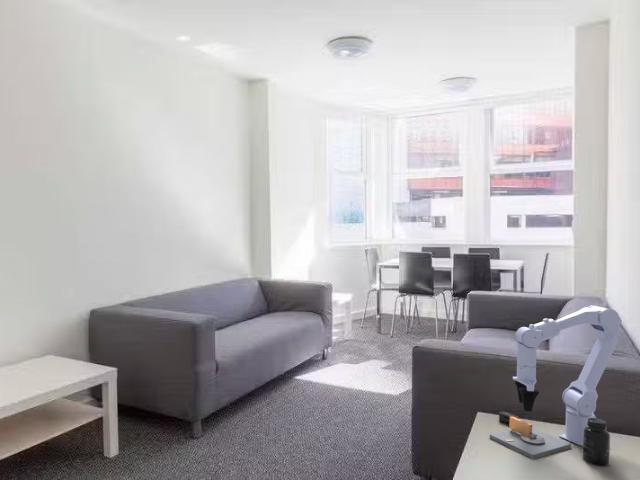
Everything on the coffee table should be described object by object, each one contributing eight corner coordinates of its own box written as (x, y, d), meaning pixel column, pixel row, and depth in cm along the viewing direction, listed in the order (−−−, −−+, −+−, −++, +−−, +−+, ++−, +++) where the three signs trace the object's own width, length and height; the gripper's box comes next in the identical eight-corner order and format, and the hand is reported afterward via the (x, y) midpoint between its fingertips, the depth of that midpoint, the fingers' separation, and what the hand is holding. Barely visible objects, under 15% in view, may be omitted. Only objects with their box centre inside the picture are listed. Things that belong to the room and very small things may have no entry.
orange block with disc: (549, 441, 149) (550, 427, 149) (534, 445, 146) (535, 431, 146) (517, 428, 159) (518, 415, 159) (503, 431, 156) (503, 418, 156)
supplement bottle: (613, 468, 136) (614, 426, 136) (587, 465, 137) (588, 423, 137) (603, 457, 142) (605, 417, 142) (579, 454, 144) (580, 415, 144)
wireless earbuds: (517, 428, 163) (517, 419, 163) (498, 421, 169) (498, 412, 169) (524, 425, 166) (524, 416, 166) (505, 419, 172) (505, 410, 172)
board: (526, 428, 163) (526, 424, 163) (570, 447, 149) (571, 442, 149) (489, 438, 154) (489, 433, 154) (532, 458, 140) (533, 453, 140)
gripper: (509, 358, 163) (508, 398, 163) (517, 369, 149) (516, 413, 149) (531, 360, 161) (530, 400, 161) (541, 371, 147) (540, 415, 147)
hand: (525, 406), depth 155 cm, fingers open, 7 cm apart
